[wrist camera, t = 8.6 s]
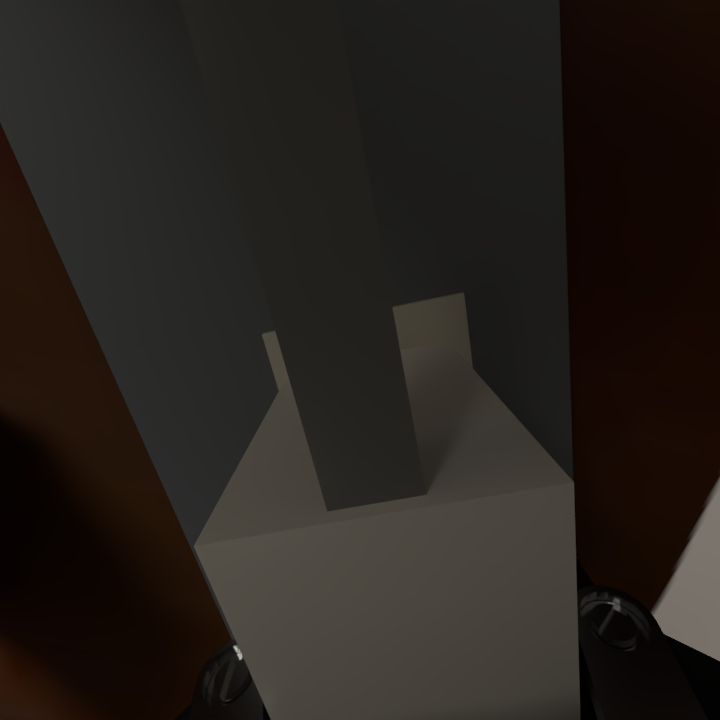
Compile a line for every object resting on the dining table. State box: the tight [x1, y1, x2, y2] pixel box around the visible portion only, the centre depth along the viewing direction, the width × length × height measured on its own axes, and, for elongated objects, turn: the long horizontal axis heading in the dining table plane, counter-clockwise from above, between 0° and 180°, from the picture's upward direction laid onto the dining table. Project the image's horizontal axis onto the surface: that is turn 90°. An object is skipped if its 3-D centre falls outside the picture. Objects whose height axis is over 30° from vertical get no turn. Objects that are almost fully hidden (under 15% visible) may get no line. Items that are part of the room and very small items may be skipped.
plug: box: [180, 0, 580, 720], centre depth 8 cm, size 16×4×6 cm, turn 12°
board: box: [0, 0, 573, 640], centre depth 10 cm, size 24×14×5 cm, turn 12°
